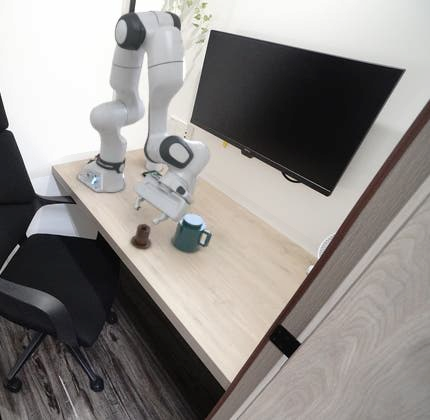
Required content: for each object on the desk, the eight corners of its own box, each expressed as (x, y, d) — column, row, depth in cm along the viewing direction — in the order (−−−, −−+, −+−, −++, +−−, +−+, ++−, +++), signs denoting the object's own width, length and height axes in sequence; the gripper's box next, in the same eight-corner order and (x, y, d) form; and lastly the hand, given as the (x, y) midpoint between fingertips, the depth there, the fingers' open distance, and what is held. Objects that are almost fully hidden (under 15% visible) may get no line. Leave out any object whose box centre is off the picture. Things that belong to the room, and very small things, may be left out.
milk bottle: (192, 204, 138) (206, 163, 126) (174, 202, 139) (185, 161, 128) (190, 195, 144) (203, 154, 133) (172, 193, 146) (183, 152, 134)
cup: (165, 170, 162) (172, 140, 153) (150, 172, 160) (157, 142, 151) (156, 163, 169) (163, 134, 159) (142, 164, 167) (148, 135, 157)
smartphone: (155, 169, 161) (174, 184, 149) (154, 171, 161) (174, 186, 150) (141, 172, 158) (160, 187, 147) (141, 174, 159) (160, 189, 147)
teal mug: (167, 243, 118) (175, 219, 111) (179, 232, 123) (187, 208, 116) (198, 260, 111) (208, 235, 104) (209, 248, 116) (219, 223, 110)
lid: (127, 242, 118) (131, 224, 113) (138, 234, 122) (142, 216, 117) (143, 251, 114) (147, 233, 109) (153, 243, 118) (158, 224, 113)
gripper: (146, 167, 114) (121, 197, 116) (192, 196, 100) (162, 229, 102) (153, 175, 119) (128, 204, 120) (198, 203, 105) (169, 236, 106)
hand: (144, 216), depth 111 cm, fingers open, 8 cm apart
